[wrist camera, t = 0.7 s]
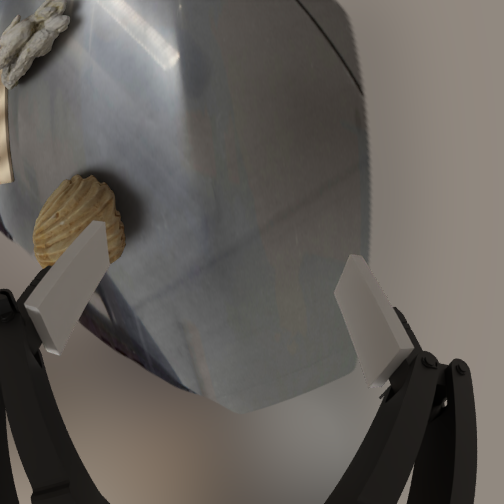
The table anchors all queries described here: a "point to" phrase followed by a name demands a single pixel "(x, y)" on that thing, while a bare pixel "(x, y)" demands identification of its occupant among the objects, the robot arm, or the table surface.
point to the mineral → (30, 40)
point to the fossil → (76, 219)
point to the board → (4, 137)
